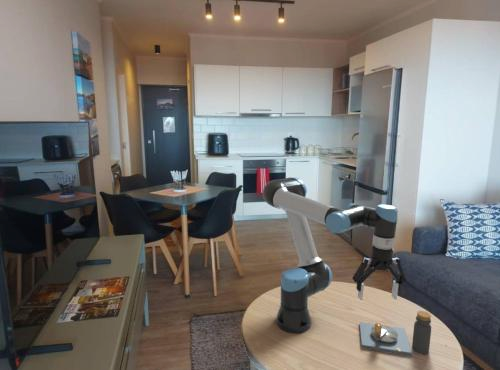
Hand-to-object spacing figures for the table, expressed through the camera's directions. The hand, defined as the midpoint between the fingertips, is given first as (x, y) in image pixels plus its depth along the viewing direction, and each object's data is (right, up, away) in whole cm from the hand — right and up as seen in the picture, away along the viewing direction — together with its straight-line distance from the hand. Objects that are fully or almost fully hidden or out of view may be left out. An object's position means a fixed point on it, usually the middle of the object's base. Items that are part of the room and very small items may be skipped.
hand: (377, 298), depth 129 cm
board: (+5, -19, +6) cm, 21 cm away
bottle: (+17, -20, 0) cm, 26 cm away
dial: (+5, -17, +5) cm, 19 cm away
